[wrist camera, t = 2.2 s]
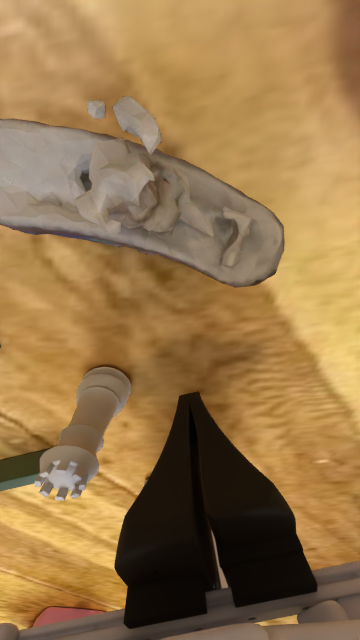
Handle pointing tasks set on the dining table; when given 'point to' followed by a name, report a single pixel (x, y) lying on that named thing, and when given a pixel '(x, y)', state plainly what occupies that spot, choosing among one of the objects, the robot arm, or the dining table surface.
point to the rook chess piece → (83, 433)
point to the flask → (133, 197)
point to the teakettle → (62, 615)
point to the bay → (20, 470)
